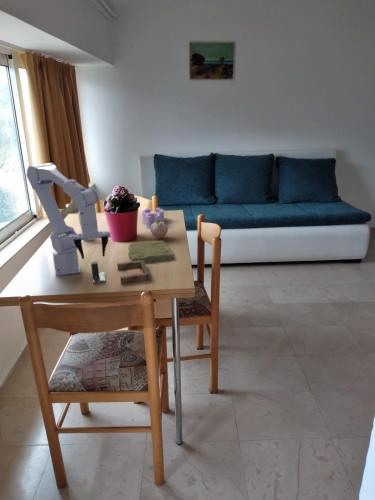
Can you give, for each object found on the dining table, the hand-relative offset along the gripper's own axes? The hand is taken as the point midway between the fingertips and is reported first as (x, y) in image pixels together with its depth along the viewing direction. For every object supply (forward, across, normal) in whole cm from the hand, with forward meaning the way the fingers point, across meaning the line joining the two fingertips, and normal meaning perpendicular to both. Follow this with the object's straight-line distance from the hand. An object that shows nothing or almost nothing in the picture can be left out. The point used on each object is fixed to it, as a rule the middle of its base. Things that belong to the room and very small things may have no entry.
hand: (93, 256), depth 141 cm
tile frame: (+9, +14, 0) cm, 17 cm away
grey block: (+9, +1, 0) cm, 9 cm away
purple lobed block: (+10, +35, +67) cm, 76 cm away
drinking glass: (+10, -2, +50) cm, 51 cm away
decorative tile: (+10, +24, +20) cm, 33 cm away
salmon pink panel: (+10, +15, 0) cm, 18 cm away
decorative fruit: (+10, +33, +39) cm, 52 cm away
